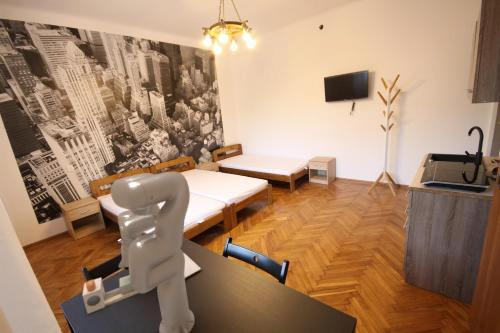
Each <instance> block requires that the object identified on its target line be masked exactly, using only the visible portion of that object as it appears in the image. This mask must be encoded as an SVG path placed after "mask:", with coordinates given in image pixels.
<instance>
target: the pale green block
mask: <svg viewBox="0 0 500 333" xmlns="http://www.w3.org/2000/svg"><path fill="white" fill-rule="evenodd" d="M138 294H139V293H138V292H136V291H135V290H132V291H129V292H127V293H124V294H121V290H120V286H119V287H117V288H114V289H112V290H109V291H106V292H105V300H104V305H105V307H107V306H110V305H112V304H115V303H117V302H120V301H122V300H125V299H127V298H130V297H132V296H134V295H138Z"/></svg>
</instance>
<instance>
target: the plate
mask: <svg viewBox="0 0 500 333" xmlns="http://www.w3.org/2000/svg"><path fill="white" fill-rule="evenodd" d="M183 254H184V257H185V269H184V277H185V279H186V278H188V277H190V276H191V275H192V276H193V275H194V274H195V273H198V272H199V271H201V269H202V268H201V267H200V266H199V265H198V264H197V263H196V262H195V261H194V260H192V259H191V258H190V257H189V256H188V255H187V254H186V253H185V252H183Z"/></svg>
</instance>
